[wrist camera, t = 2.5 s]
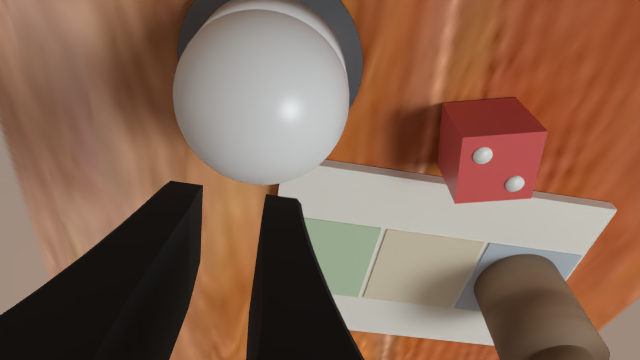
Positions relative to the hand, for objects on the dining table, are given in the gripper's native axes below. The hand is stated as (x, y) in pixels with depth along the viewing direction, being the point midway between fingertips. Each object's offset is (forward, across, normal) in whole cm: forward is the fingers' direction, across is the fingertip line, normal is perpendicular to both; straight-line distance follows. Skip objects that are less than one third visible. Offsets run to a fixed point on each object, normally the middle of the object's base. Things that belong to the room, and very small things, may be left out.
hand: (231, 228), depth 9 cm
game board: (+10, -9, +10) cm, 16 cm away
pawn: (+9, -14, +10) cm, 19 cm away
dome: (+9, 0, 0) cm, 9 cm away
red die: (+10, -9, +2) cm, 13 cm away
